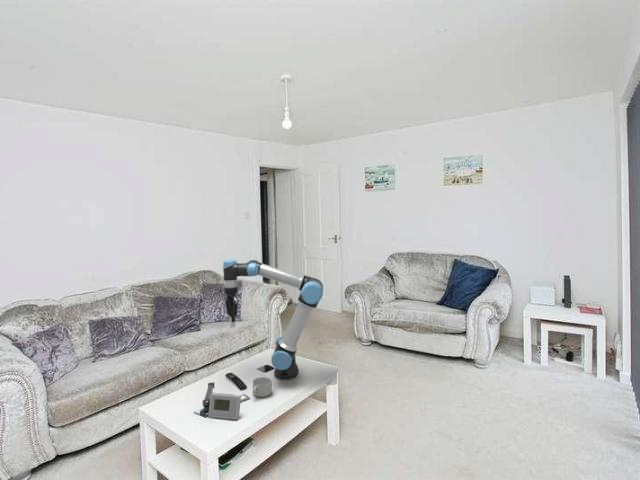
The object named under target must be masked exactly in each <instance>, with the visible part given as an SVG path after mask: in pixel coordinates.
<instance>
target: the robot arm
mask: <svg viewBox="0 0 640 480" xmlns="http://www.w3.org/2000/svg"><path fill="white" fill-rule="evenodd" d="M222 263H223V264H222V266H223V267H222V270H223V286H224V288H223V290H224V291H223V292H224V294H225V295H226V296H225V297H223V298H224V302H225V303H224V304H225V308H226V314H227V315H228V316H229V317H228V319H229V328H230V329H233V328H235V327H236V316H237V315H238V309H239V308H238V307H239V299H237V294H238V292H239V290H238V286H239V285H238V278H239V277H256V276H259V277H263V278H266V279H269V280H271V281H275V282H278V283H282V284H284V285H287V286H290V287H294V288H296V289H298V291H300V293H299V296H298V298H297V302H298V304H297V306H296V308H295V311H294V314H293V316H292V317H291V320H290V322H289V325H288V326H287V329H286V331H285V333H284V335H283V337H282V336H281V337H277V338H276V339H275V347H274V348H275V349H274V351H273V353H272V355H271V361H270V362H271V364H272V366H273V367H274V372H273V377H275V378H276V379H278V380H282V379H283V380H284V379H287V380H292V379H291V378H293V379H295V378H297V377H298V376H299V375H298V374H299V368H298V365H297V362H296V353H297V351H298V348H297V344H298V342H299V340H300V338H301V336H302V333H303V331H304V328H305V326H306V325H307V323H308V320H309V318H310V315H311V313H312V311H313V310H314V309H316V308H317V307H318V305H319V303H320V301H321V300H322V298H323V295H324V285H323V283H322V281H321V280H320V279H318V278H316V277H311V276H308V275H305V274H303V275H299V274H298V273H297V274H296V273H293V272H290V271H287V270H283V269H280V268H278V267H275V266H271V265H268V264H266V263H265V264H264V263H263V262H259V261H258V260H257V259H251V260H249V261H248V262H244V263H243V262H241V263H238V260H236V259H225V260H224V261H223V262H222ZM297 375H298V376H297ZM296 376H297V377H296ZM294 377H295V378H294ZM283 380H282V381H283Z"/></svg>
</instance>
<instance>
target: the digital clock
mask: <svg viewBox="0 0 640 480" xmlns="http://www.w3.org/2000/svg"><path fill="white" fill-rule="evenodd" d="M240 402H241V395H240V394H234V393H233V394H231V393H223V392H221V393H215V392H212V394H211V397H210V405H209V413H208V416H207V417H209V418H214V419H221V420H230V421H232V420H233V421H234V420H235V421H237V420H238V419H240V411H241V410H240V409H241V403H242V402H241V403H240Z"/></svg>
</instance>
